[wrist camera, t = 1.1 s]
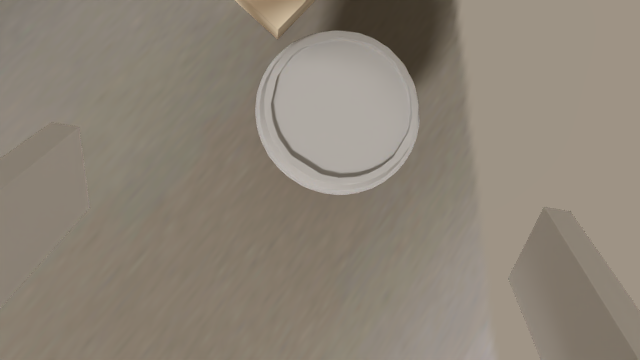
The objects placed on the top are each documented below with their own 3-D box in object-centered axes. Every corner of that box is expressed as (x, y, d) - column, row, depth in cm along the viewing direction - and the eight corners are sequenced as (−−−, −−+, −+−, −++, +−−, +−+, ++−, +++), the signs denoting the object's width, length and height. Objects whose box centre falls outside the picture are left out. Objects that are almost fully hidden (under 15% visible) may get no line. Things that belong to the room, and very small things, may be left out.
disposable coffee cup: (385, 98, 38) (439, 43, 26) (364, 211, 37) (410, 209, 25) (271, 72, 37) (274, 3, 25) (247, 187, 36) (237, 173, 24)
